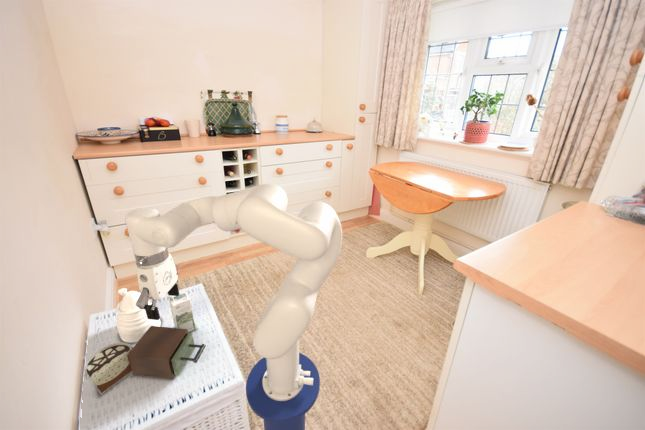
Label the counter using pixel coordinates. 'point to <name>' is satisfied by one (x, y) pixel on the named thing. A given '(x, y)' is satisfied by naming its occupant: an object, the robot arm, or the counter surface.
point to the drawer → (185, 354)
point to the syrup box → (182, 312)
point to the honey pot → (132, 317)
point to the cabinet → (156, 352)
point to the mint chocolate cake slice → (108, 366)
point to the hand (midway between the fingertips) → (164, 306)
